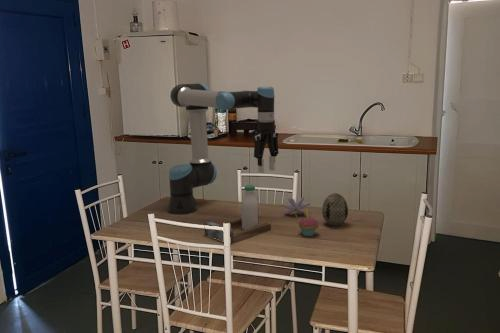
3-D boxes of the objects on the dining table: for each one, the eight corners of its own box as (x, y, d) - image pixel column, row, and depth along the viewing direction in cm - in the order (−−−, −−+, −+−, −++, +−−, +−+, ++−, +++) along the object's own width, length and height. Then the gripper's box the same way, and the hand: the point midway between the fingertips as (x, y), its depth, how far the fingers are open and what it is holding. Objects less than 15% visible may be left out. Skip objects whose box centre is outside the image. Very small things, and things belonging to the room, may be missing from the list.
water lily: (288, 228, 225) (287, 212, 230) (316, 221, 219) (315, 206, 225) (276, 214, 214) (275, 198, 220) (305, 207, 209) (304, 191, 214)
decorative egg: (317, 225, 207) (317, 194, 204) (330, 219, 215) (331, 189, 212) (339, 231, 199) (340, 198, 196) (352, 224, 208) (353, 193, 205)
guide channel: (204, 235, 196) (204, 222, 195) (246, 222, 213) (246, 210, 212) (229, 244, 185) (228, 230, 184) (270, 229, 202) (270, 217, 201)
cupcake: (295, 232, 198) (295, 206, 196) (312, 230, 201) (312, 204, 199) (304, 239, 190) (304, 211, 188) (322, 236, 193) (322, 209, 191)
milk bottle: (257, 231, 200) (256, 188, 196) (240, 231, 201) (239, 187, 198) (260, 226, 207) (259, 184, 203) (243, 225, 209) (243, 183, 205)
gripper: (256, 123, 193) (257, 175, 198) (286, 120, 206) (286, 169, 211) (244, 122, 198) (245, 173, 203) (274, 119, 212) (274, 167, 216)
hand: (266, 171), depth 207 cm, fingers open, 6 cm apart
